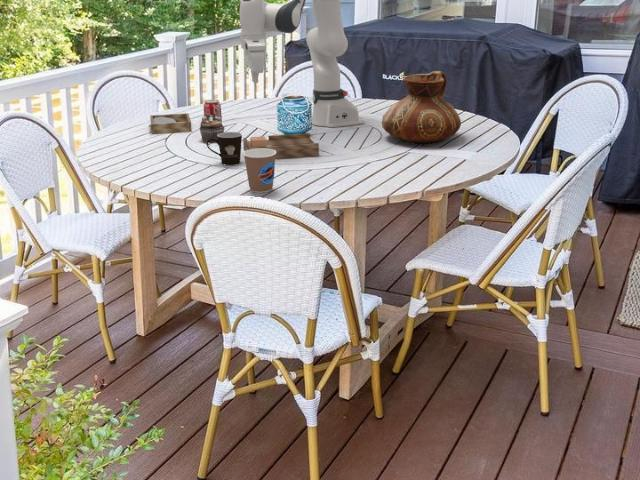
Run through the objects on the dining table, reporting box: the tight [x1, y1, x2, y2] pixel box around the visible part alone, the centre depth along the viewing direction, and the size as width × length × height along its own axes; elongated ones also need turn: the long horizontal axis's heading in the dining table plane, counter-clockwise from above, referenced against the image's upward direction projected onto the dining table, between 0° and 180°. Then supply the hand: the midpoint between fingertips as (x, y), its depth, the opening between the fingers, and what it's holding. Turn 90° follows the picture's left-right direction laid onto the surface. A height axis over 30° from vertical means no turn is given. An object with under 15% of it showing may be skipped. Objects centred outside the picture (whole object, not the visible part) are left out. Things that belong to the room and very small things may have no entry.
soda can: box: [203, 99, 223, 123], centre depth 325 cm, size 7×7×12 cm
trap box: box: [242, 132, 320, 160], centre depth 290 cm, size 25×17×4 cm
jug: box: [381, 70, 462, 146], centre depth 302 cm, size 30×30×25 cm
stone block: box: [153, 117, 176, 124], centre depth 330 cm, size 12×5×10 cm
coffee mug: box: [206, 131, 243, 166], centre depth 278 cm, size 12×9×10 cm
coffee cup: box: [242, 148, 276, 194], centre depth 247 cm, size 10×10×12 cm
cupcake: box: [199, 114, 225, 144], centre depth 308 cm, size 10×10×10 cm
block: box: [249, 135, 267, 147], centre depth 283 cm, size 5×5×4 cm
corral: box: [149, 112, 192, 135], centre depth 330 cm, size 16×18×4 cm
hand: (255, 82), depth 286 cm, fingers closed
